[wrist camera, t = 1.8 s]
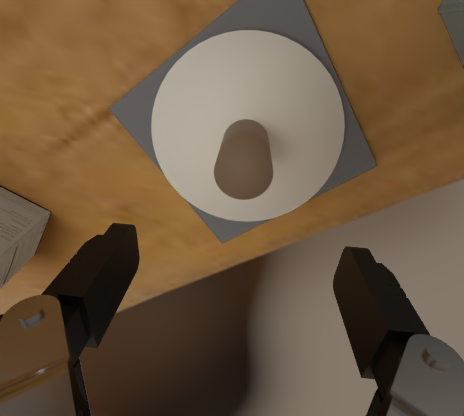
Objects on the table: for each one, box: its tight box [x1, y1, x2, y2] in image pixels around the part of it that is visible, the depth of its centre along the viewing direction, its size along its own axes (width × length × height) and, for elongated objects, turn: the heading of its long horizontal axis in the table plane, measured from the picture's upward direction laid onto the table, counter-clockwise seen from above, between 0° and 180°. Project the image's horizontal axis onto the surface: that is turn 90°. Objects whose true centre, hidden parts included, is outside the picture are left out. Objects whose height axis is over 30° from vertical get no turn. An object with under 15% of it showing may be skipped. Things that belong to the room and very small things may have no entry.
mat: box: [109, 0, 377, 243], centre depth 23 cm, size 16×16×1 cm
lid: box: [151, 30, 345, 222], centre depth 20 cm, size 15×15×7 cm
